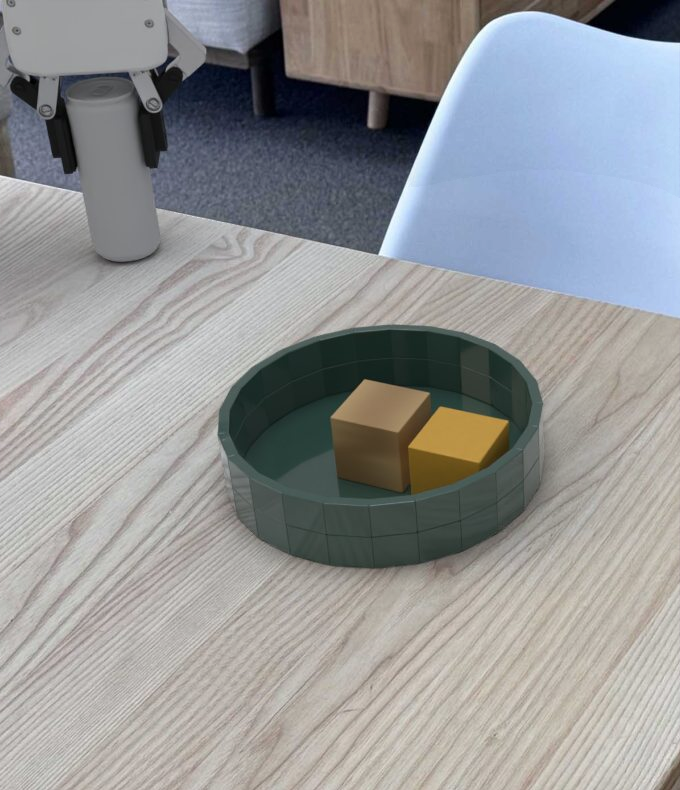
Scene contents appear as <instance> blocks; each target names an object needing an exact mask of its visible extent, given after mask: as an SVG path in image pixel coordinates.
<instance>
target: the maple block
mask: <svg viewBox="0 0 680 790" xmlns="http://www.w3.org/2000/svg"><path fill="white" fill-rule="evenodd" d="M431 417H432V415H431V399H430V393H429V392H424V391H419V390H414V389H409V388H404V387H400V386H395V385H390V384H385V383H380V382H375V381H371V380H366V379H365V380H363V382H362V383H361V384H360V385H359V386H358V387H357V388H356V389H355V391H354V392H353V393H352V394H351V395H350V396H349V397H348V398H347V399H346V401H345V402H344V403H343V404H342V405H341V406H340V407H339V408H338V409H337V411H336V412H335V413H334V414H333V415H332V416H331V427H332V436H333V445H334V454H335V462H336V471H337V478H341V479H345V480H349V481H354V482H358V483H362V484H366V485H371V486H375V487H379V488H383V489H388V490H392V491H396V492H401V493H403V492H404V491H405V490H406V488H407V487H408V486H409V485H410V483H411V479H410V466H409V453H408V446H409V445H410V444H411V442H412V441H413V440H414V439H415V437H416V436H417V435H418V434H419V432H420V431H421V430H422V428H423V427H424V426H425V425H426V423H427V422H428V421H429V420H430V418H431Z"/></svg>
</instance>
